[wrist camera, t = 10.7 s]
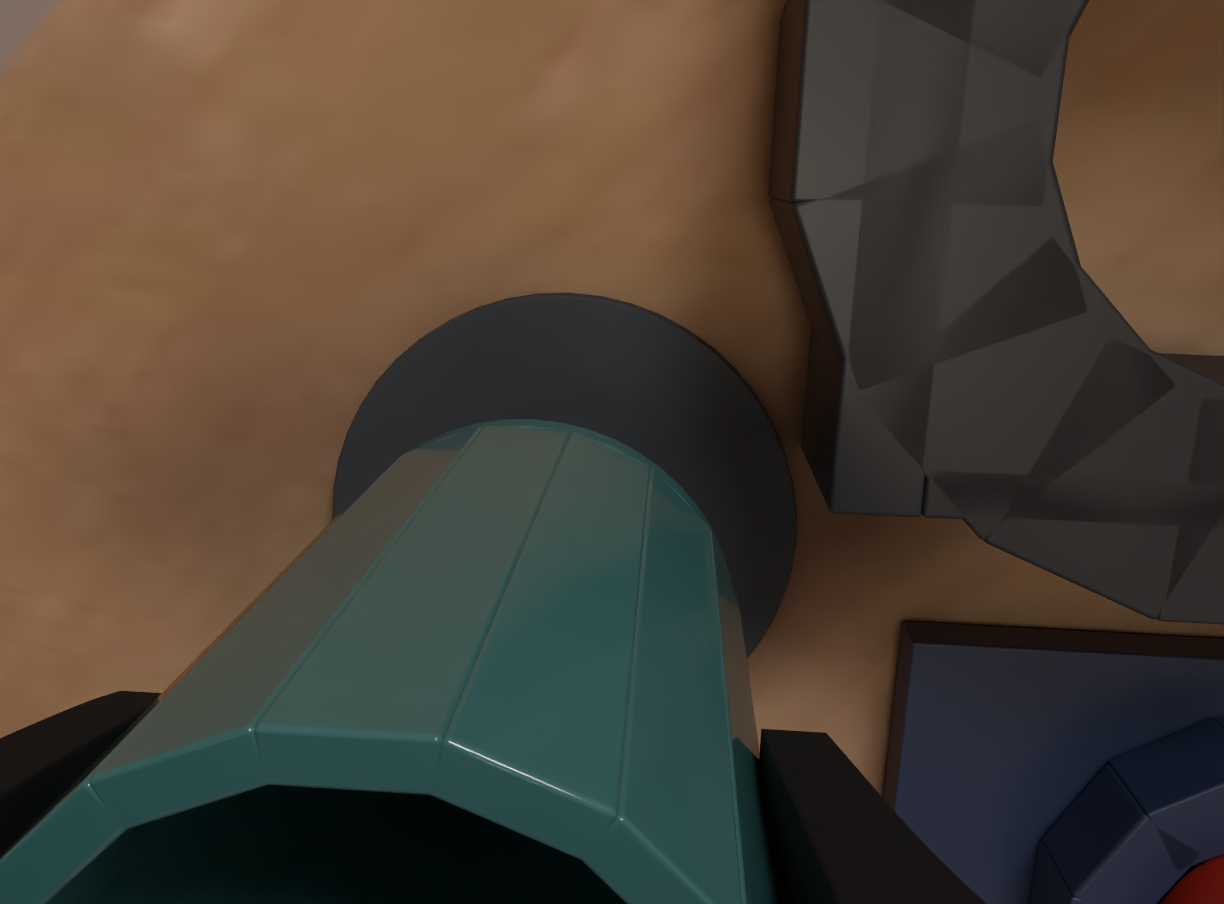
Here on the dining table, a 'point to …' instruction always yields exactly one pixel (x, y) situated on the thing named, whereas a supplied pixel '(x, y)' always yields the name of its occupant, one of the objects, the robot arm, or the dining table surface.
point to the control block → (1059, 759)
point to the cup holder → (980, 306)
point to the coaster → (599, 416)
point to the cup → (448, 708)
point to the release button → (1200, 885)
